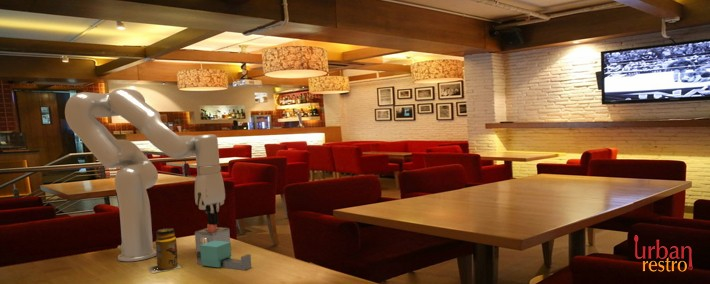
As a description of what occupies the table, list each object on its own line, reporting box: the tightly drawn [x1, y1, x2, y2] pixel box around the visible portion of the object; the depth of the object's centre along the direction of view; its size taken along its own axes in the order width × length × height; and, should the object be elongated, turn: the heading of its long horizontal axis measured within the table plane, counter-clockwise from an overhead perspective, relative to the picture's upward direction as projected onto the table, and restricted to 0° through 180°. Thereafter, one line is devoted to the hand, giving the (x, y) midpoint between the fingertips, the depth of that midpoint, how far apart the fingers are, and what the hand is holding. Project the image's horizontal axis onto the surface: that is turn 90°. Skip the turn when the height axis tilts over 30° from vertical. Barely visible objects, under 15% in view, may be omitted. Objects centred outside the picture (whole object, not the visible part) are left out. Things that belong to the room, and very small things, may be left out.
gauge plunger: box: [206, 223, 218, 232], centre depth 165 cm, size 3×3×5 cm
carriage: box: [200, 241, 232, 268], centre depth 151 cm, size 7×6×6 cm
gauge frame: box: [194, 226, 231, 256], centre depth 165 cm, size 8×8×8 cm
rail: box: [196, 251, 252, 271], centre depth 150 cm, size 19×3×4 cm, turn 62°
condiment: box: [148, 227, 182, 274], centre depth 150 cm, size 7×8×12 cm
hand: (213, 223), depth 165 cm, fingers closed
